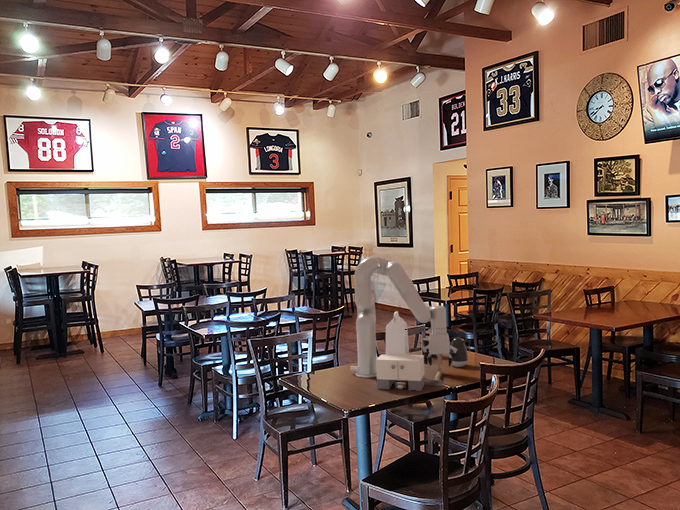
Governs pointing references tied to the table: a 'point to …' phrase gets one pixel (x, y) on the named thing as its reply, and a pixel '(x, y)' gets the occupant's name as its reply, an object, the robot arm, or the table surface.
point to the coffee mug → (426, 343)
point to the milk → (397, 336)
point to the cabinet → (400, 370)
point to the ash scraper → (436, 380)
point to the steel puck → (400, 385)
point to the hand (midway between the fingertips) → (440, 365)
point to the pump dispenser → (459, 352)
